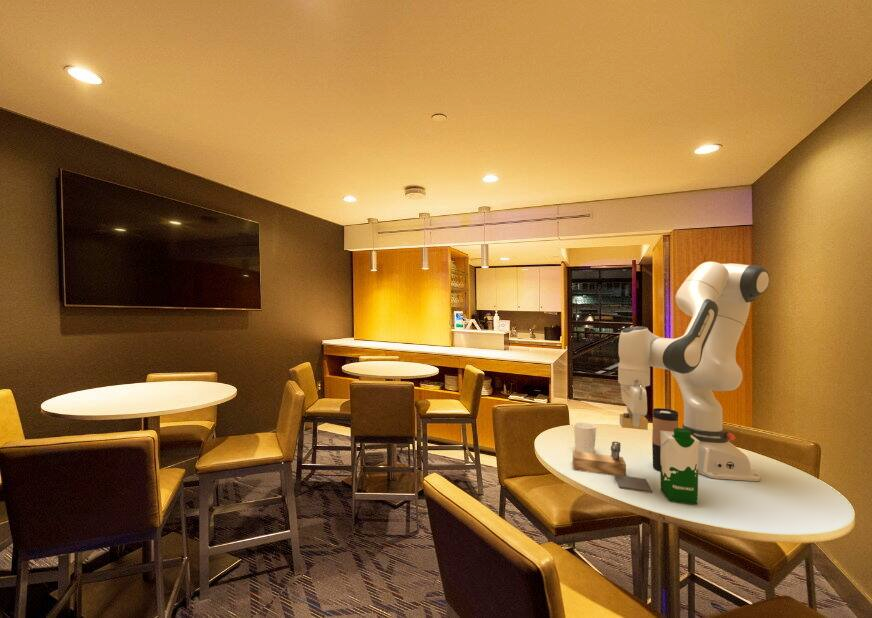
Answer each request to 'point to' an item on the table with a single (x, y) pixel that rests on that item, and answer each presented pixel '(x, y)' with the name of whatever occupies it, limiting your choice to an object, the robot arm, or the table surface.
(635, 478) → the rubber mat
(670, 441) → the milk carton
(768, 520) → the table surface
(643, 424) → the gold block with knob
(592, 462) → the plane body
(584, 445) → the white cup
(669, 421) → the travel mug
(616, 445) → the lever
